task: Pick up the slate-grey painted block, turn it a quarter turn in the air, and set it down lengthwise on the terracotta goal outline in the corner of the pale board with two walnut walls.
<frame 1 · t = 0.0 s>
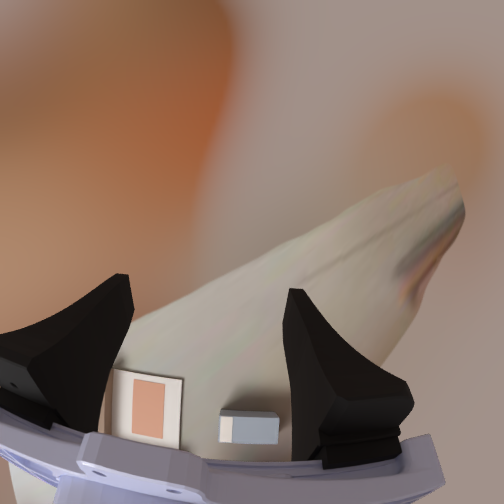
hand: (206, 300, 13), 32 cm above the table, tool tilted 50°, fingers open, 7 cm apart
slate block: (247, 423, 39), on the table
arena: (142, 416, 38), on the table
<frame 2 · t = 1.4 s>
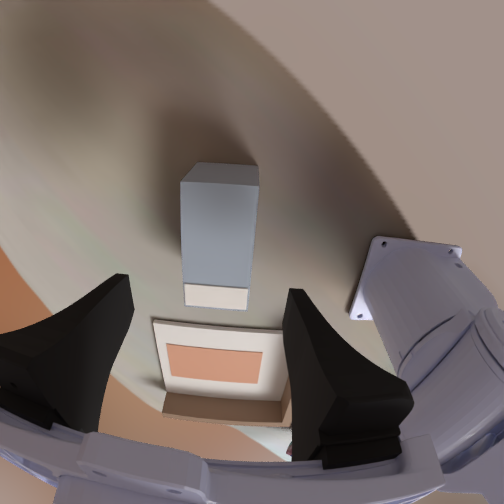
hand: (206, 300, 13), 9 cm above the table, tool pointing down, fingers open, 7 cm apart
slate block: (224, 218, 21), on the table
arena: (229, 369, 28), on the table
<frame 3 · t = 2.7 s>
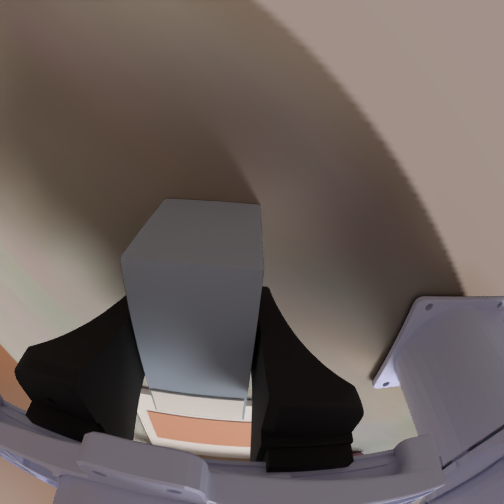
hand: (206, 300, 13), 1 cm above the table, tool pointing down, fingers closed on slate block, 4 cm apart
slate block: (209, 281, 14), on the table, touching gripper
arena: (224, 433, 22), on the table
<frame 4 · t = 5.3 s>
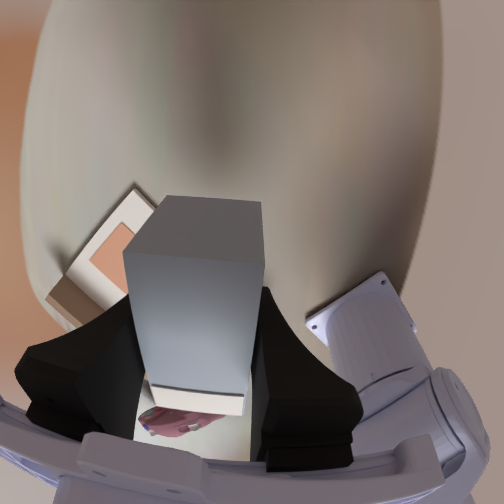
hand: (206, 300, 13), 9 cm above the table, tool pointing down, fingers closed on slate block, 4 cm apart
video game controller: (184, 397, 32), on the table
slate block: (210, 278, 14), point 7 cm above the table, touching gripper
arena: (153, 294, 24), on the table
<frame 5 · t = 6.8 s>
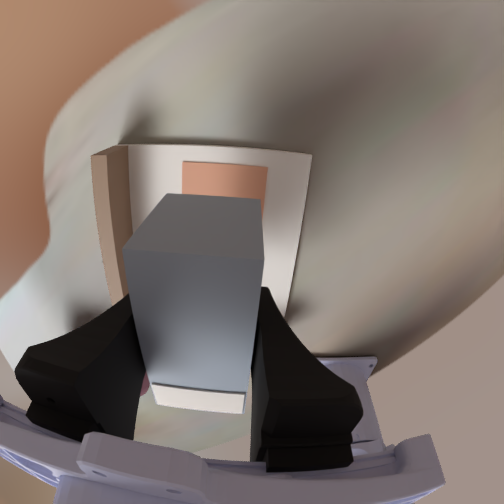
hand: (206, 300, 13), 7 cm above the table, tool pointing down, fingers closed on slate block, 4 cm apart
slate block: (210, 275, 14), point 6 cm above the table, touching gripper
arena: (206, 249, 20), on the table
when the fingers open (3 cm above the table, at t = 8.1 s): slate block stays where it is, resting on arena.
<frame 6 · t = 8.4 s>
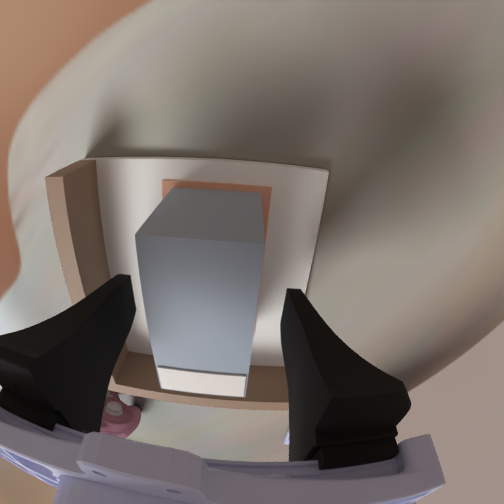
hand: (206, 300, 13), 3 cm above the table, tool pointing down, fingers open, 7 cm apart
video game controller: (95, 383, 22), on the table
slate block: (213, 265, 15), point 1 cm above the table, touching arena
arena: (195, 284, 16), on the table
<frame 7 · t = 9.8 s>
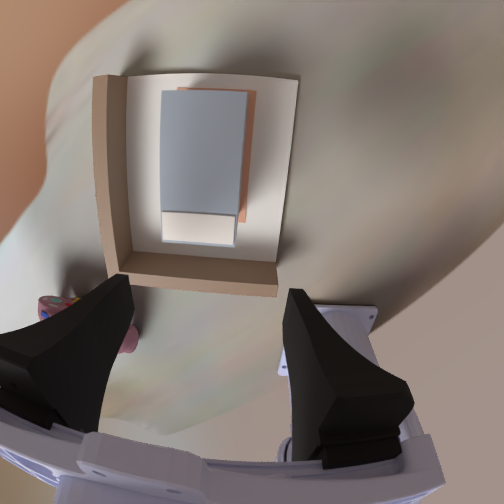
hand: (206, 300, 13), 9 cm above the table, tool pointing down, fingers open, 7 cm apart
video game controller: (97, 307, 26), on the table
slate block: (212, 153, 18), point 1 cm above the table, touching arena
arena: (197, 175, 20), on the table
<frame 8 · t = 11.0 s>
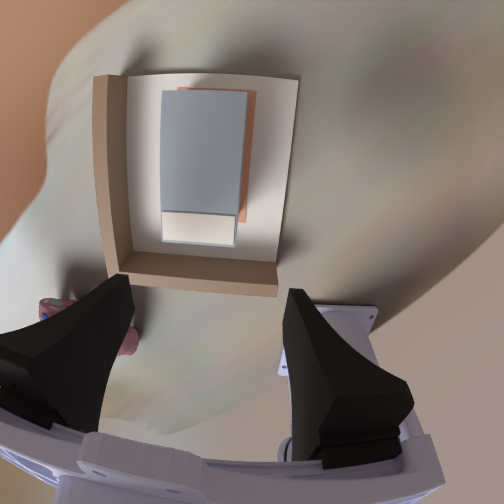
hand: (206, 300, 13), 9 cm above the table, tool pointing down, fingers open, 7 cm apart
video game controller: (97, 309, 26), on the table
slate block: (212, 153, 18), point 1 cm above the table, touching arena
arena: (197, 175, 20), on the table
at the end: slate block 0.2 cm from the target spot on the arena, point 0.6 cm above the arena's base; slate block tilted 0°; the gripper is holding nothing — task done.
